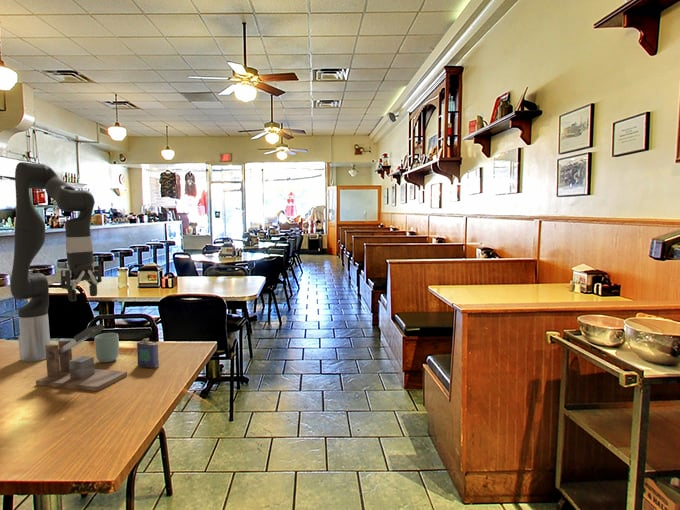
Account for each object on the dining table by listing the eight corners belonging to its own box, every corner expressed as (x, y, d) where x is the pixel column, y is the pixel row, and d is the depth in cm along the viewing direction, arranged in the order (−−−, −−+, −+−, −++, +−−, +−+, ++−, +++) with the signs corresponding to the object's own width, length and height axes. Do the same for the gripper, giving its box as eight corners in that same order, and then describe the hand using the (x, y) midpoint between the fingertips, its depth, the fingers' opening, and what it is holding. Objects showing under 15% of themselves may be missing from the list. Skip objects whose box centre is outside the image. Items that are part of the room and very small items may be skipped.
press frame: (36, 385, 138) (33, 348, 137) (69, 370, 151) (67, 336, 150) (97, 391, 133) (95, 353, 132) (127, 375, 146) (125, 340, 144)
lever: (49, 359, 140) (46, 353, 140) (66, 353, 146) (63, 348, 146) (89, 334, 136) (86, 328, 136) (104, 328, 142) (101, 323, 142)
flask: (160, 366, 154) (159, 338, 153) (154, 369, 152) (152, 340, 150) (141, 363, 158) (139, 335, 157) (135, 366, 155) (133, 338, 154)
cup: (123, 357, 164) (122, 332, 163) (111, 364, 157) (109, 338, 156) (105, 357, 165) (103, 332, 164) (91, 364, 157) (89, 338, 156)
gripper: (87, 248, 148) (90, 294, 149) (51, 252, 134) (55, 302, 135) (105, 248, 146) (108, 294, 147) (71, 252, 132) (75, 303, 133)
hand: (83, 298), depth 141 cm, fingers open, 8 cm apart
